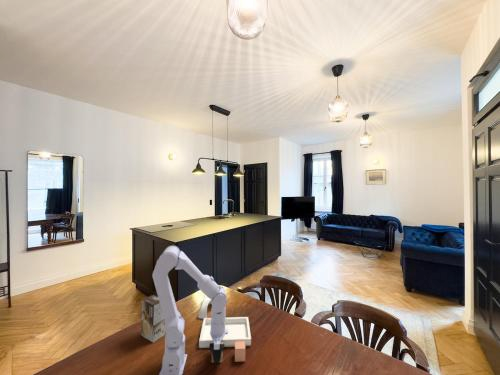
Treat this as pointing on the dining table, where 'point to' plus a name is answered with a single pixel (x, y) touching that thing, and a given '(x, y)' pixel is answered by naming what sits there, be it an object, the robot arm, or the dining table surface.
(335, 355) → the dining table surface
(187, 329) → the dining table surface
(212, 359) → the maple block
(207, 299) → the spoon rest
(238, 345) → the terracotta block
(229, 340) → the tray
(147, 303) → the coffee box
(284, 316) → the dining table surface
